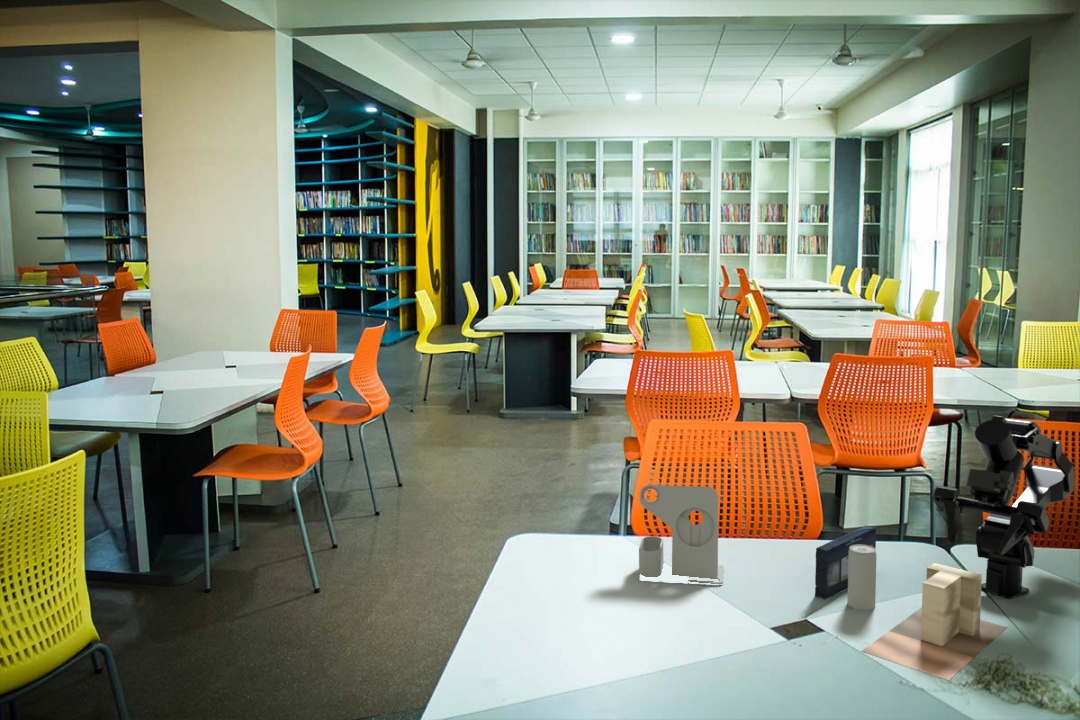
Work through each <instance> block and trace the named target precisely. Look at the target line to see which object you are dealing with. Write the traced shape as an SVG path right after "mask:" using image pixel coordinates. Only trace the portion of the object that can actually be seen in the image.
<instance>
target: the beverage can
mask: <svg viewBox="0 0 1080 720" xmlns="http://www.w3.org/2000/svg"><path fill="white" fill-rule="evenodd" d="M849 549H850V550H849V558H848V589H847V606H849V607H850V608H852V609H855V610H858V611H872V610H874V609H875V608H876V596H877V595H876V593H877V592H876V588H877V587H876V586H877V551H876V549H875V548H874V547H872V546H869V545H862V544H856V545H852V546H850V547H849Z"/></svg>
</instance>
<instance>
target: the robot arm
mask: <svg viewBox="0 0 1080 720" xmlns="http://www.w3.org/2000/svg"><path fill="white" fill-rule="evenodd" d="M974 436H975V439H976V442H977V444H978V445H979V448H980V450H981V453H982V455H983V457H984V458H985V459H986V460H987V462H986V464H985V467H984V469H975V468H969V470H968V475H967V480H966V487H970V490H969V493H970V495H972V496H974V497H973V498H970V497H963V496H962V495H961V492H960V490H959V489H958V488H955V487H948V486H943V485H939V486H936V487H935V488H934V489H933V491H932V494H931V498H932V500H933V503H934V504H935V505H936V507H937V508H936V509H937V510H938V511H939V512H940V513H942V514H944V516H945V517H946V518H947V519H946V520H947V521H946V523H947V542H948V544H951V545H952V544H953V542H954V540H955V539H956V537H957V534H958V532H959V529H960V527H961V524H962V522H963V515H961V514H962V513H963V511H964V509H967V510H972V511H976V512H982V513H988V514H989V515H988V516H987V517H986V518H984V520H983V521H984V522H983V523H982V524H981V526H979V527H978V528H977V530H976V534H975V542H976V543H975V544H976V552H977V557H978V558H982V559H986V562H987V563H986V569H985V570H986V572H985V582H983V583H982V584H981V590H984V591H988V592H990V593H992V594H995V595H998V596H1000V597H1004V598H1006V599H1013V598H1015V597H1019V596H1021V595H1023V594H1027V593H1030V588H1028V587H1025V586H1023V585H1022V584H1023V569H1025V568H1026V567H1033V566H1034V558H1035V549H1034V547H1033V544H1032V542H1031V539H1030V538H1029V535H1031V536H1033V535H1036V533H1041V534H1045V533H1047V531H1048V528H1049V525H1050V518H1049V517H1048V514H1047V511H1046V509H1047V508H1048V506H1049V505H1050V504H1053V503H1058V502H1063V501H1064V500H1065V499H1067V498H1068V497H1069V496H1070V494H1072V493H1073V492H1074V489H1075V486H1076V479H1075V478H1076V477H1075V468H1074V464H1073V463H1072V462H1071V461H1070V460H1069V458H1068V457H1067V456H1066V454H1065V453H1064V452H1063V446H1062V442H1061V441H1058V440H1057V439H1053V438H1051V437H1048V436H1046V435H1045V434H1042V432H1041V427H1040V426H1039V425H1038V423H1037V422H1035V421H1032V420H1023V419H1016V418H1008V417H1007V418H1006V417H1005V416H1000V415H993V416H992V418H991V419H989V420H987V421H984V422H982V423H981V424H979V425H978V426H977V427H976V429H975V430H974ZM1020 451H1024V452H1025V453H1028V454H1029V458H1028V460H1027V462H1026V464H1025V457H1024V455H1023V454H1022V453H1021V452H1020ZM1035 458H1040V459H1046V460H1053V462H1054V464H1055V466H1056V467H1058V468H1056V467H1050V466H1044V465H1037V464H1033V461H1034V459H1035ZM1022 471H1023V474H1024V482H1025V485H1026V488H1025V490H1024V491H1023V492H1022V493H1021V494H1020V496H1019V497H1018V498H1017V499H1016V500H1015V502H1014V503H1013V504H1012V505H1010V503H1011V500H1012V497H1015V496H1016V494H1017V490H1016V486H1017V483H1018V481H1019V478H1020V474H1021V472H1022Z"/></svg>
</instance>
